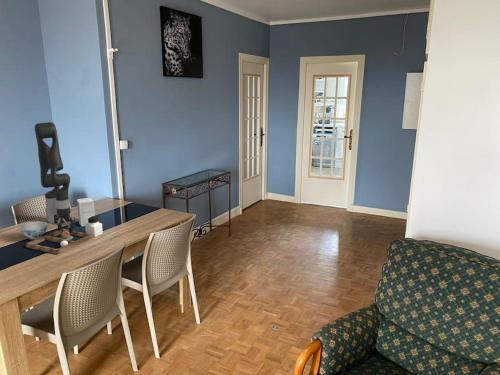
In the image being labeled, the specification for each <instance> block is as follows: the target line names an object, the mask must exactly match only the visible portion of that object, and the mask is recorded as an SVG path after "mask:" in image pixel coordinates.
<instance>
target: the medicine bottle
mask: <svg viewBox="0 0 500 375" xmlns="http://www.w3.org/2000/svg"><path fill="white" fill-rule="evenodd" d="M84 228H85V233H87V234H92V238H97V237H99V236H100V235H103V234H104V233H103V223H101V222H99V216H98V215H95V216H90V217H88V224H87V225H85V226H84Z"/></svg>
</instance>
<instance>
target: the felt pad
mask: <svg viewBox="0 0 500 375" xmlns="http://www.w3.org/2000/svg"><path fill="white" fill-rule="evenodd" d="M59 238H61V239H66V240H71V241H72V239H74V235H69V237H68V238H63V237H62V236H60V237H59Z"/></svg>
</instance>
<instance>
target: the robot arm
mask: <svg viewBox="0 0 500 375" xmlns="http://www.w3.org/2000/svg"><path fill="white" fill-rule="evenodd" d="M56 127H57V126H56V125H55V123H54V122H51V121H49V122H48V121H47V122H38V123H36V124H35V125H34V134H35V138H36V143H37V152H38V153H37V155H38V162H39V167H40V172H39V174H40V184H41V187H42V188H45V189H47V188H50V189H51V188H53V189H51V190H49V191H47V192H46V193H44V197H45V198H44V200H45V206H46V207H45V214H46V215H45V216H46V222H47V223H50V224H54V225H56V226H57V231H61V230H62V229H63V226H62V223H63V224H65V225H66V226H67V227H68V230H69V233H73V231H74V227H76V220H75V218H76V217H75V216H70V215H71V213H72V212H71V202H70V199H69V191H70V190H69V189H70V185H71V177H70V175H69V174H68V173H63V172H62V173H57V172H60V171H62V170H63V169H64V164H63V161H62V157H61V152H60V143H59V137H58V130H57V128H56ZM45 139H52V143H51V145H48V144H47V143H46V141H44V140H45ZM50 146H51V147H50ZM49 171H50V173H49ZM60 187H61V188H60Z"/></svg>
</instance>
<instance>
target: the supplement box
mask: <svg viewBox="0 0 500 375" xmlns="http://www.w3.org/2000/svg"><path fill="white" fill-rule="evenodd" d="M76 206H77V216H78V223H79V225H80V227H85V225H87V224H88V217H90V216H96V213H95V203H94V200H93V198H92V197H85V198H78V199H76Z"/></svg>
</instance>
